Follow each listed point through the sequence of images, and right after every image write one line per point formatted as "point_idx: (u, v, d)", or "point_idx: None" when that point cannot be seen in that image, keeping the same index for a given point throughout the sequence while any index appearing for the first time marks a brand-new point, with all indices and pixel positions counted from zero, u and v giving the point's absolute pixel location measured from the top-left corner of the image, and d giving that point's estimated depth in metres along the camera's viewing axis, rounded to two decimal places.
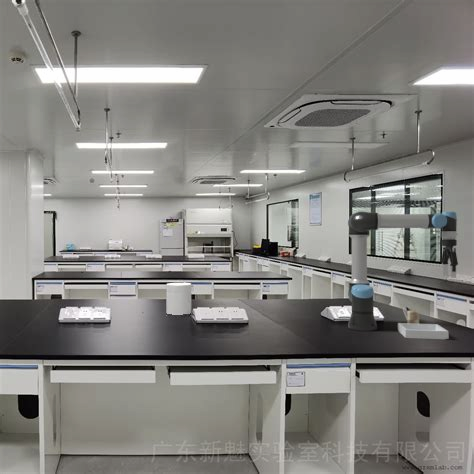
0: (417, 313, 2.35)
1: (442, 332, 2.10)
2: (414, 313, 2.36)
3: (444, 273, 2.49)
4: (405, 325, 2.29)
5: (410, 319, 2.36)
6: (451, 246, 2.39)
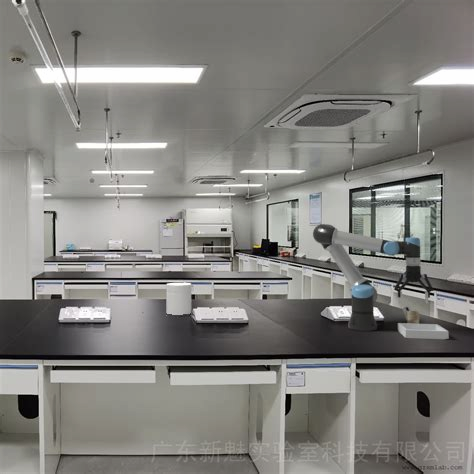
0: (417, 313, 2.35)
1: (442, 332, 2.10)
2: (414, 313, 2.36)
3: (425, 301, 2.38)
4: (405, 325, 2.29)
5: (410, 319, 2.36)
6: (406, 272, 2.39)
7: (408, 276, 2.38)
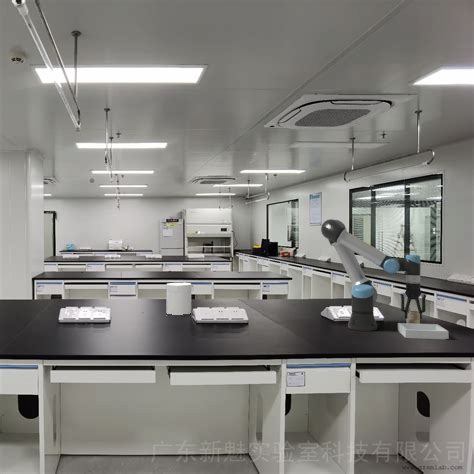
0: (417, 313, 2.35)
1: (442, 332, 2.10)
2: (414, 313, 2.36)
3: None
4: (405, 325, 2.29)
5: (410, 319, 2.36)
6: None
7: (408, 293, 2.38)
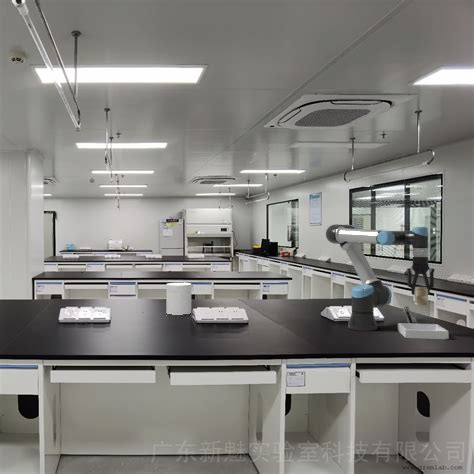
0: (425, 288, 2.21)
1: (442, 332, 2.10)
2: (422, 288, 2.21)
3: None
4: (405, 325, 2.29)
5: (418, 295, 2.21)
6: None
7: (415, 268, 2.23)
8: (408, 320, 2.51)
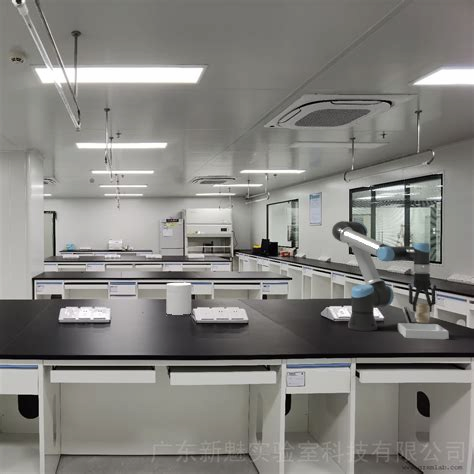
0: (427, 305, 2.18)
1: (442, 332, 2.10)
2: (423, 305, 2.18)
3: None
4: (405, 325, 2.29)
5: (419, 312, 2.18)
6: None
7: (417, 284, 2.20)
8: (407, 320, 2.51)
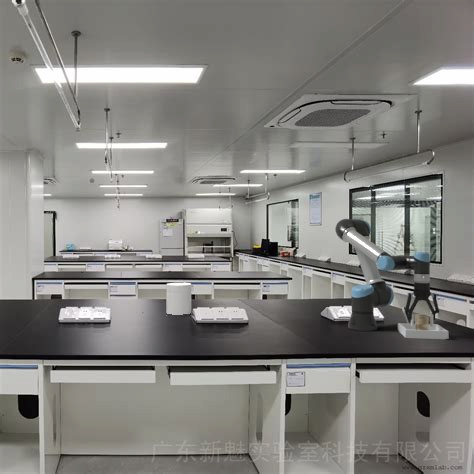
0: (426, 317, 2.18)
1: (442, 332, 2.10)
2: (423, 317, 2.18)
3: (430, 323, 2.20)
4: (405, 325, 2.29)
5: (419, 323, 2.18)
6: None
7: (416, 294, 2.20)
8: (407, 320, 2.51)
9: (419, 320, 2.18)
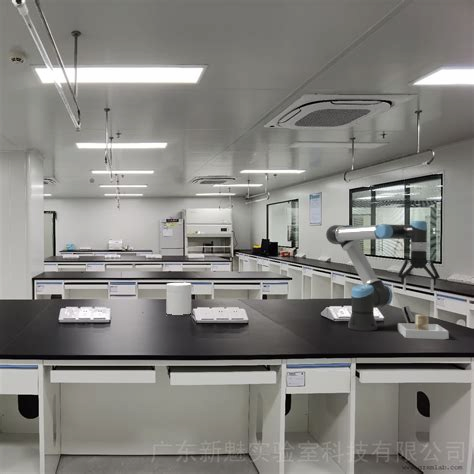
0: (426, 317, 2.18)
1: (442, 332, 2.10)
2: (423, 317, 2.18)
3: None
4: (405, 325, 2.29)
5: (419, 323, 2.18)
6: (411, 258, 2.24)
7: (413, 262, 2.23)
8: (406, 320, 2.52)
9: (419, 320, 2.18)
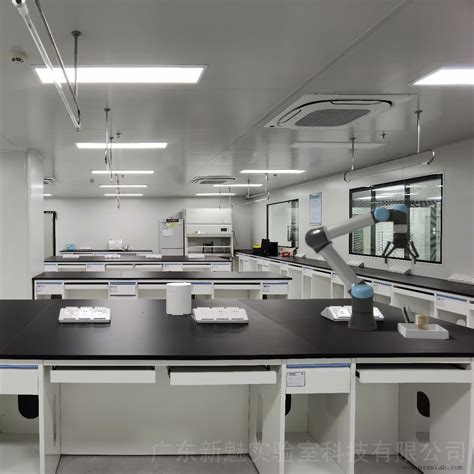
0: (426, 317, 2.18)
1: (442, 332, 2.10)
2: (423, 317, 2.18)
3: None
4: (405, 325, 2.29)
5: (419, 323, 2.18)
6: (393, 239, 2.44)
7: (395, 243, 2.43)
8: (406, 319, 2.52)
9: (419, 320, 2.18)
